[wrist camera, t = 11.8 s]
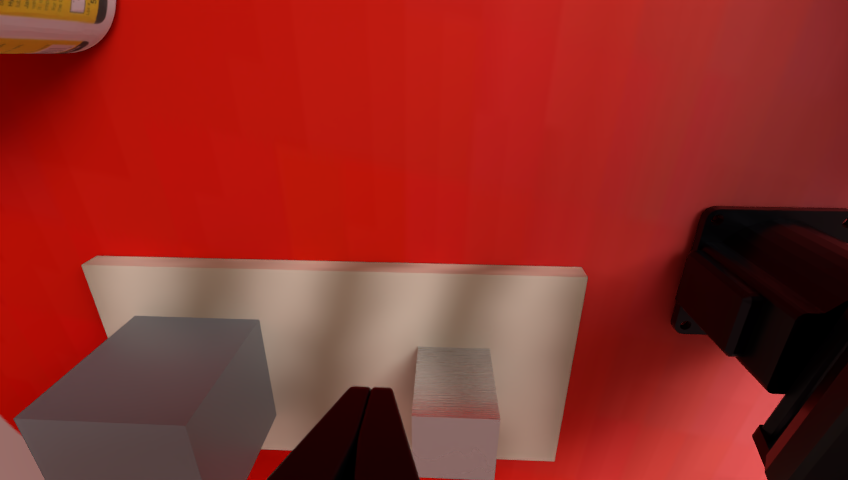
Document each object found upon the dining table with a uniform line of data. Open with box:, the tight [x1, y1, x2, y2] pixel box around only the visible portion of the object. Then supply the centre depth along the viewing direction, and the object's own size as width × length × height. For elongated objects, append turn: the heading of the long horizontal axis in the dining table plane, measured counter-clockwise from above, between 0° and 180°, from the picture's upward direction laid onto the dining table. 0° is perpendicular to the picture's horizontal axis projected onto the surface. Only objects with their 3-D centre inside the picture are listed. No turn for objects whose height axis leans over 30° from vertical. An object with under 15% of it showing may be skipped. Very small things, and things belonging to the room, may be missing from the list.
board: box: [81, 256, 588, 461], centre depth 23 cm, size 24×12×1 cm, turn 90°
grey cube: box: [412, 346, 500, 480], centre depth 20 cm, size 4×4×4 cm
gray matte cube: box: [14, 316, 276, 480], centre depth 20 cm, size 6×6×7 cm
